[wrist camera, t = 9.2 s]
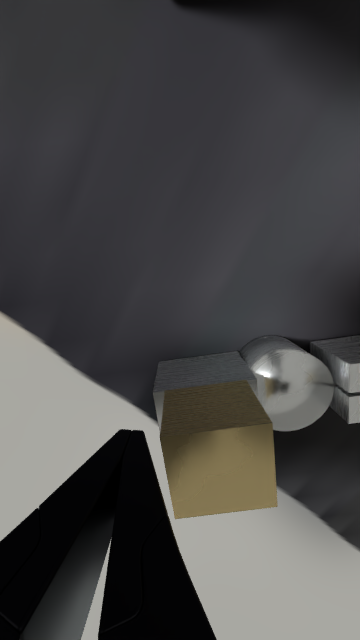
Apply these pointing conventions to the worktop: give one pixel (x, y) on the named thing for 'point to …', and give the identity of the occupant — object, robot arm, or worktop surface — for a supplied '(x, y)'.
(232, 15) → the worktop surface
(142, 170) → the worktop surface
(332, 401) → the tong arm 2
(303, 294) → the worktop surface
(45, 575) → the robot arm
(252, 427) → the tab
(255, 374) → the tong handle block
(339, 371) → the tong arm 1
